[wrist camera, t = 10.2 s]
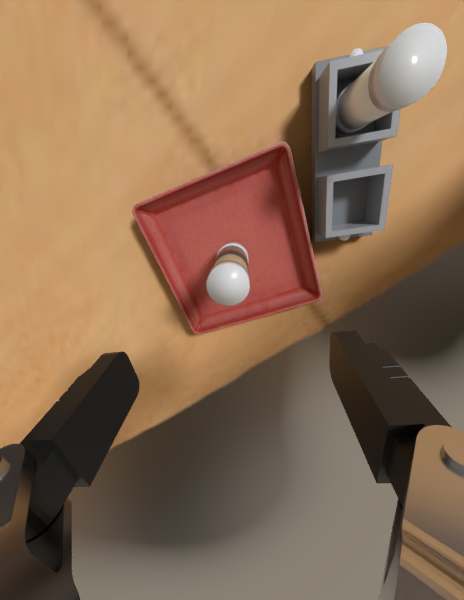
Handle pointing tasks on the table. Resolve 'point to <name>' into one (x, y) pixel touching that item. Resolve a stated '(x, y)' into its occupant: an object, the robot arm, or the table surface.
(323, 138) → the block
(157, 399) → the table surface
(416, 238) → the table surface
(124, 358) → the robot arm
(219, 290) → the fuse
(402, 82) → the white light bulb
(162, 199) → the plant saucer
